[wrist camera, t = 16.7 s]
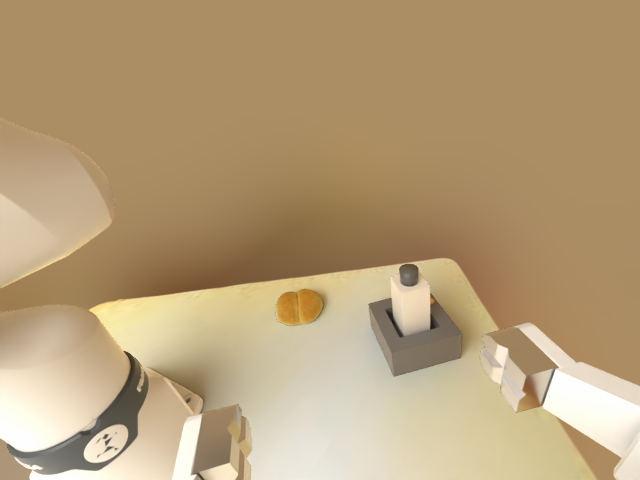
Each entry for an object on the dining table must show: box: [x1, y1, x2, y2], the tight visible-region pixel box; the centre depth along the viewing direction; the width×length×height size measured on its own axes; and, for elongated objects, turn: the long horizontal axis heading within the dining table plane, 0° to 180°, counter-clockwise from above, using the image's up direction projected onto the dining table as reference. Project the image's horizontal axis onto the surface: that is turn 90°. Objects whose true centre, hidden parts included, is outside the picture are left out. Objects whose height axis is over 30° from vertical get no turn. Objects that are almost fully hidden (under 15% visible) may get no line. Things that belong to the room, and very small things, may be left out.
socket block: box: [368, 293, 462, 376], centre depth 45 cm, size 10×10×5 cm
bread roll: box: [275, 289, 323, 326], centre depth 56 cm, size 8×9×4 cm
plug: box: [390, 264, 430, 338], centre depth 43 cm, size 4×4×13 cm
